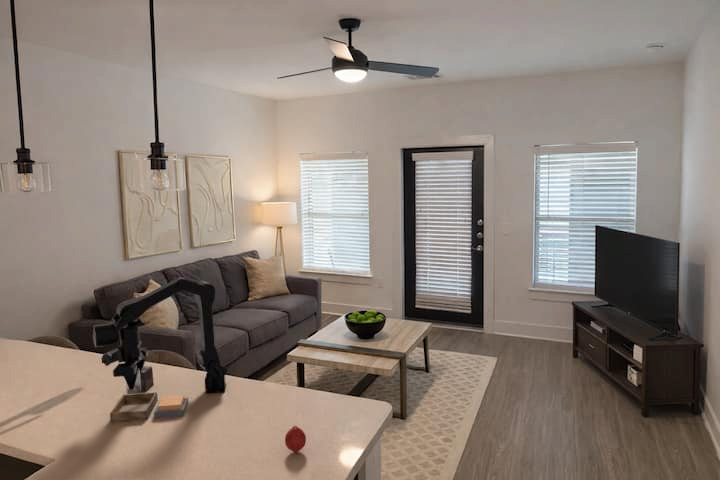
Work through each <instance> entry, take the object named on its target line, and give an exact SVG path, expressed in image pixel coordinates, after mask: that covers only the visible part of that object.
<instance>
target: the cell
mask: <svg viewBox="0 0 720 480" xmlns="http://www.w3.org/2000/svg"><path fill="white" fill-rule="evenodd" d="M137 369H139V368H137ZM124 380H125V379H124ZM125 391H126V394H137V393H141V392H142V391H141V382H140V369H139V372H138V376H137V379H136V383H135V386H134V389H133V390H130V389H129V387H128V385H127V382H126V380H125Z"/></svg>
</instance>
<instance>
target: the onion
mask: <svg viewBox="0 0 720 480" xmlns="http://www.w3.org/2000/svg"><path fill="white" fill-rule="evenodd" d="M306 442H307V437H306V433H305V431H304V430H303V429H301V428H300V427H298V426H297V425H293V426H292V428H290V429H289V430H288V431H287V432H286V434H285V436H284V444H285V447H286V448H287V449H288V450H289V451H292V452H293V453H295V454H297V453H299V452H300V451H301V450H302V449H303V448H304V447H305V445H306Z"/></svg>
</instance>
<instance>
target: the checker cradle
mask: <svg viewBox="0 0 720 480" xmlns="http://www.w3.org/2000/svg"><path fill="white" fill-rule="evenodd" d="M160 401H161V399H160V400H159V402H158V404H157V406H156V408H155V409H154V411H153V415H154V417H153V418H154V419H162V418H163V419H164V418H174V417H184V416H185V413H186V411H187V409H188V407H189V397H185V402H184V404H183V406H182V409H178V410H165V411H158V405H159V403H160Z"/></svg>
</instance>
